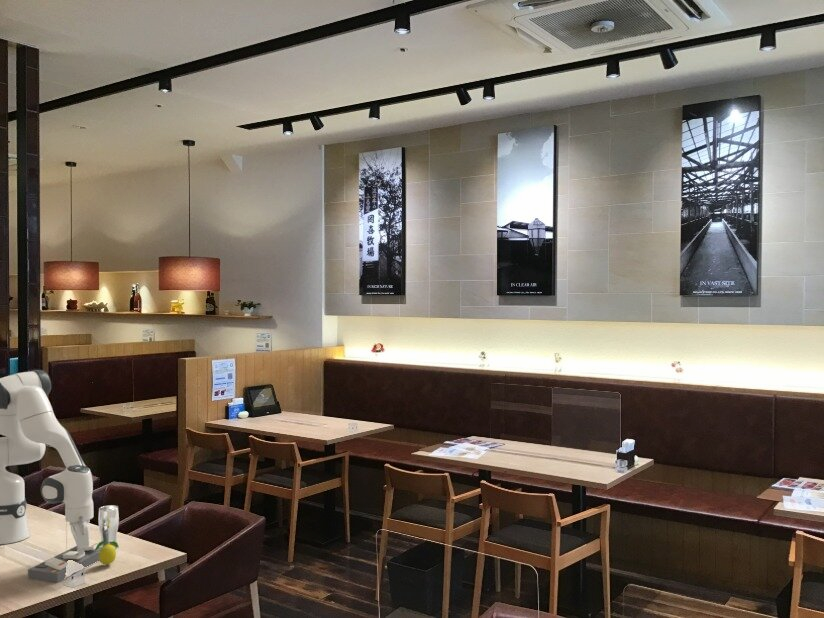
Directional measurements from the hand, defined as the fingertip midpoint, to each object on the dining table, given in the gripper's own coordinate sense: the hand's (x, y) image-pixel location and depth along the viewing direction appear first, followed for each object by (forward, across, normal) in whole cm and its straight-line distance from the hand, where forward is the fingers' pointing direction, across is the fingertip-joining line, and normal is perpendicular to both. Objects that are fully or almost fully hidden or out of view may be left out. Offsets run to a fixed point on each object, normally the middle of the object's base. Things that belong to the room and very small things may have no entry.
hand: (80, 553), depth 253 cm
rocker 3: (+1, +8, -4) cm, 9 cm away
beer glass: (+5, +16, -11) cm, 20 cm away
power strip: (+5, +4, +3) cm, 7 cm away
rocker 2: (+1, +2, +2) cm, 3 cm away
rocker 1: (+1, -3, +8) cm, 8 cm away
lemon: (+6, -1, -8) cm, 10 cm away
